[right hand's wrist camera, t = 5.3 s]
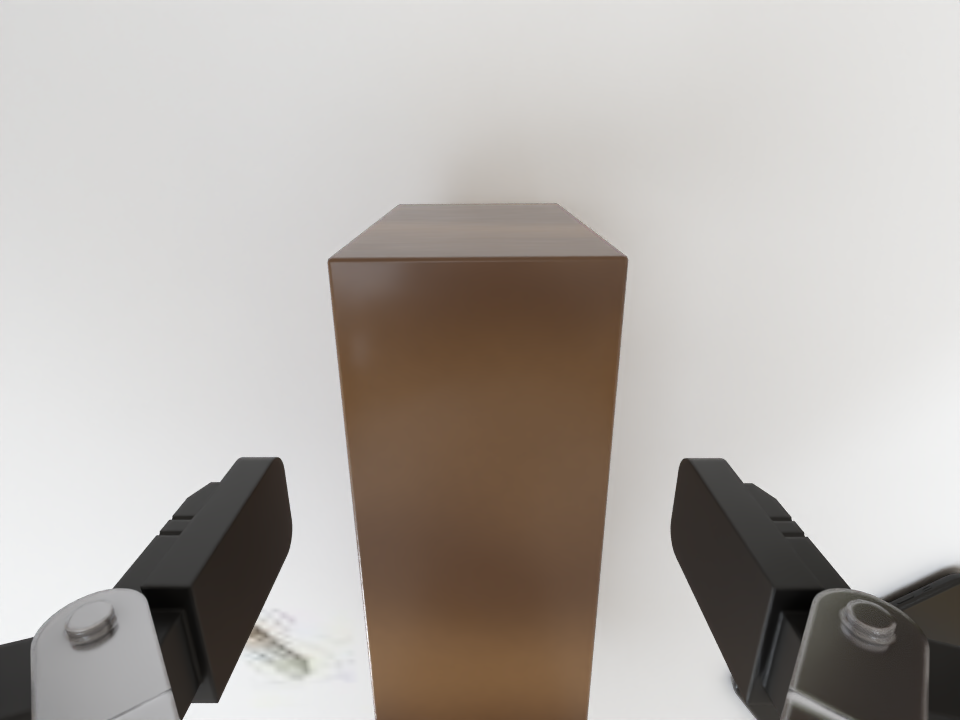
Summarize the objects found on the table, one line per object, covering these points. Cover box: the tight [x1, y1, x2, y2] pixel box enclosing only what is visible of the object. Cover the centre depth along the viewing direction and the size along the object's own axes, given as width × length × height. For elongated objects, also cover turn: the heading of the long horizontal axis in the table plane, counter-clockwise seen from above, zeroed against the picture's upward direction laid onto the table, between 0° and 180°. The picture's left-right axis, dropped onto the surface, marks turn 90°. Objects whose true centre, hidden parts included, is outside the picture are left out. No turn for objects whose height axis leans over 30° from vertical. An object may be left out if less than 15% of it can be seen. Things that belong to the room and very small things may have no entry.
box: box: [328, 203, 628, 720], centre depth 21 cm, size 27×6×11 cm, turn 0°
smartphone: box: [733, 573, 960, 720], centre depth 37 cm, size 8×1×16 cm
